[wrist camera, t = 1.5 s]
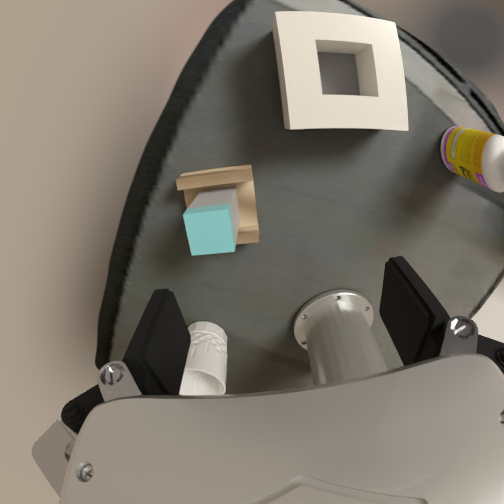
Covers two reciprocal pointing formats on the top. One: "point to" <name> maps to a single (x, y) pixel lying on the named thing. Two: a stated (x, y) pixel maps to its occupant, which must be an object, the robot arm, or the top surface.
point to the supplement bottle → (475, 156)
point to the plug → (213, 221)
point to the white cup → (205, 361)
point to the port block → (339, 71)
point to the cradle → (225, 179)
